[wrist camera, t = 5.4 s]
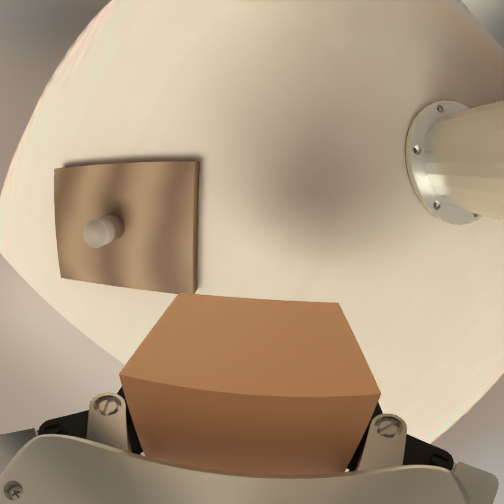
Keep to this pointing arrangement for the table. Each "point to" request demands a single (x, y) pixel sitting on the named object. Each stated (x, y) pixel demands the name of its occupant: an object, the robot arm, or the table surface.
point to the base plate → (129, 224)
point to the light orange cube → (250, 386)
